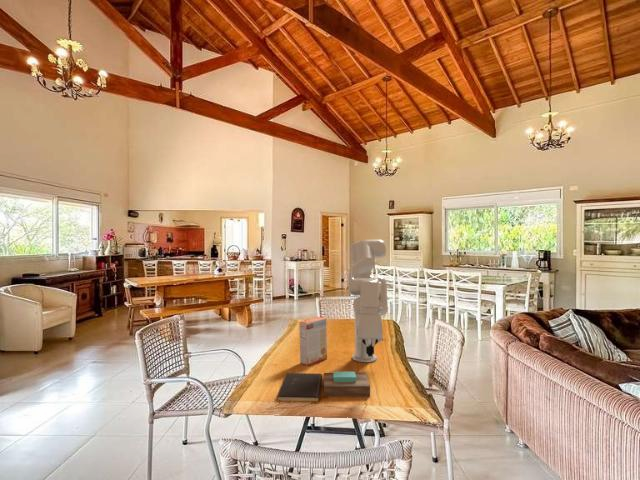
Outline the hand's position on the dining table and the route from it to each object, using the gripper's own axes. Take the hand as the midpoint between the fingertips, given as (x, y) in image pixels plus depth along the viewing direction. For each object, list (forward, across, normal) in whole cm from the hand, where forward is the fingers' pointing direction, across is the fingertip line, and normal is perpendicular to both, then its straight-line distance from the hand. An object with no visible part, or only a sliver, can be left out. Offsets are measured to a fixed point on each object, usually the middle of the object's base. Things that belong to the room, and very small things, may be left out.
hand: (370, 355), depth 144 cm
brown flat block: (+14, +10, -1) cm, 17 cm away
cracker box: (+13, +24, -34) cm, 44 cm away
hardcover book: (+15, +28, -2) cm, 32 cm away
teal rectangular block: (+10, +10, -1) cm, 14 cm away
